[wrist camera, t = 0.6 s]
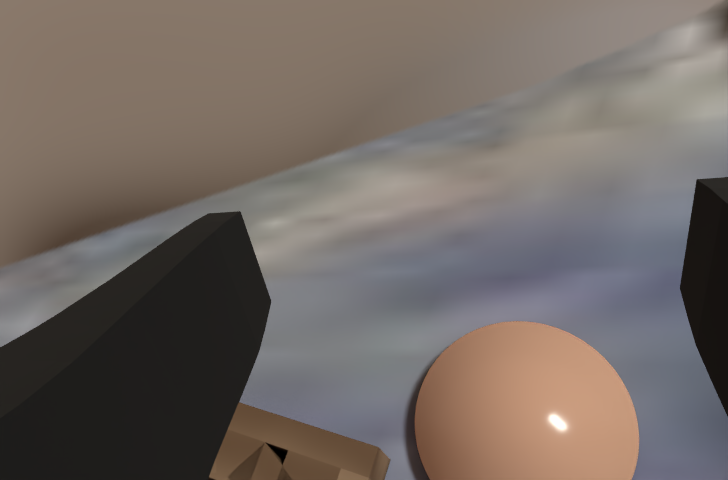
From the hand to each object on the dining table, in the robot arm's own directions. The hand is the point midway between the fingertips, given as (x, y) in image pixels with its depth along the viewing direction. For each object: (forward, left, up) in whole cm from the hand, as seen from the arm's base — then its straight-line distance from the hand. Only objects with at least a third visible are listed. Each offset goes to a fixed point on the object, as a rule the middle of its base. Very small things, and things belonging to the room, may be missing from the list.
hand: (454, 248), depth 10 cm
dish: (+2, -1, -18) cm, 18 cm away
